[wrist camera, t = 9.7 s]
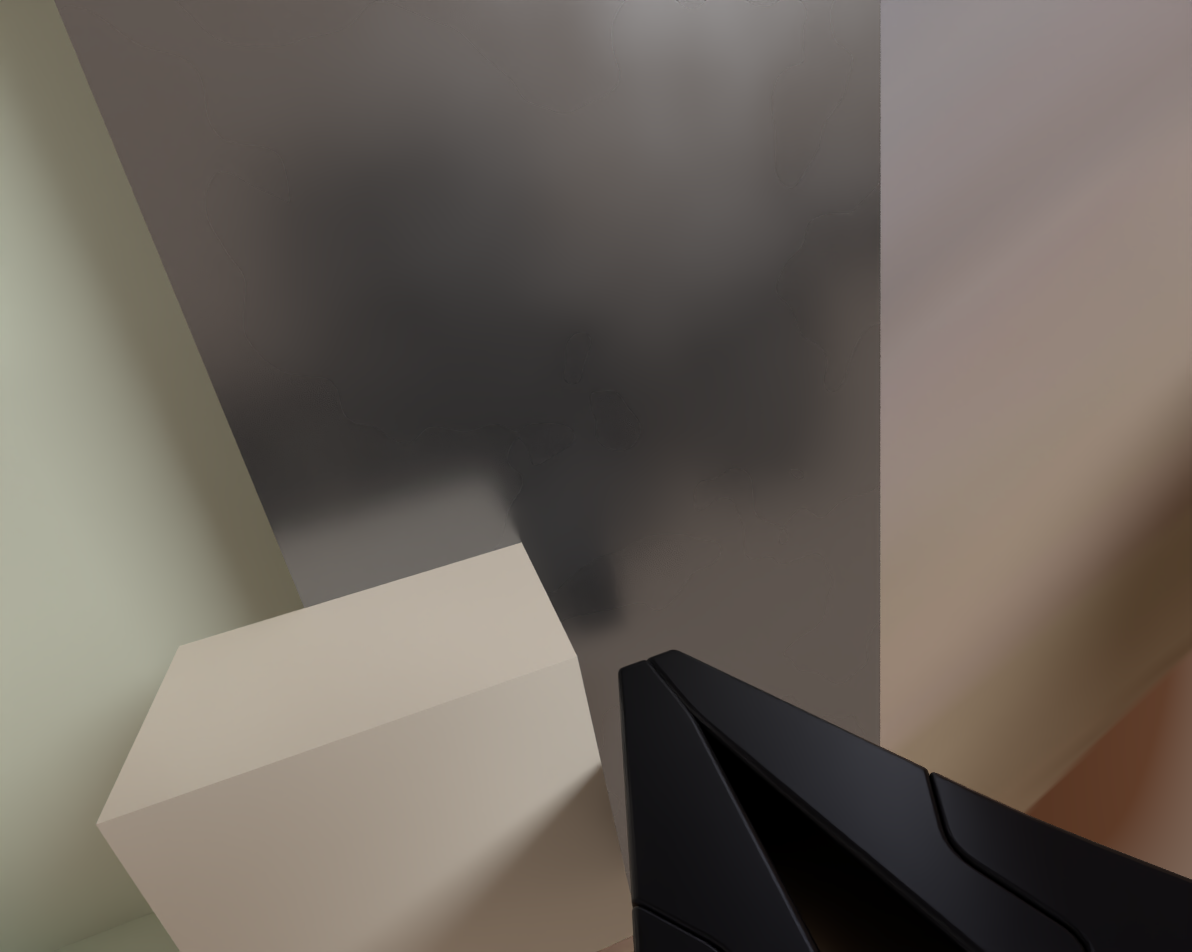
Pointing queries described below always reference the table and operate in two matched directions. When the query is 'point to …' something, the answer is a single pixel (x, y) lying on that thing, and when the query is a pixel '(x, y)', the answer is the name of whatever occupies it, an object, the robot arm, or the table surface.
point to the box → (96, 500)
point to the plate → (540, 304)
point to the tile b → (378, 779)
